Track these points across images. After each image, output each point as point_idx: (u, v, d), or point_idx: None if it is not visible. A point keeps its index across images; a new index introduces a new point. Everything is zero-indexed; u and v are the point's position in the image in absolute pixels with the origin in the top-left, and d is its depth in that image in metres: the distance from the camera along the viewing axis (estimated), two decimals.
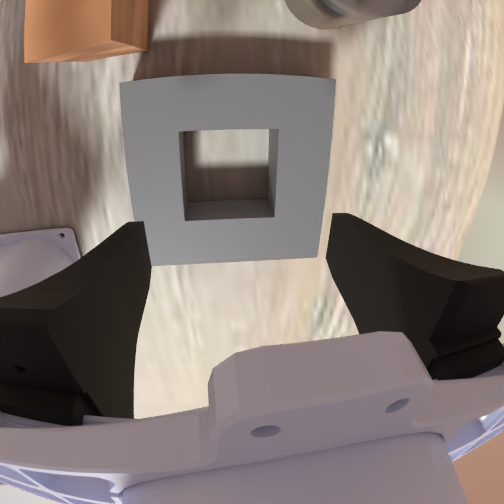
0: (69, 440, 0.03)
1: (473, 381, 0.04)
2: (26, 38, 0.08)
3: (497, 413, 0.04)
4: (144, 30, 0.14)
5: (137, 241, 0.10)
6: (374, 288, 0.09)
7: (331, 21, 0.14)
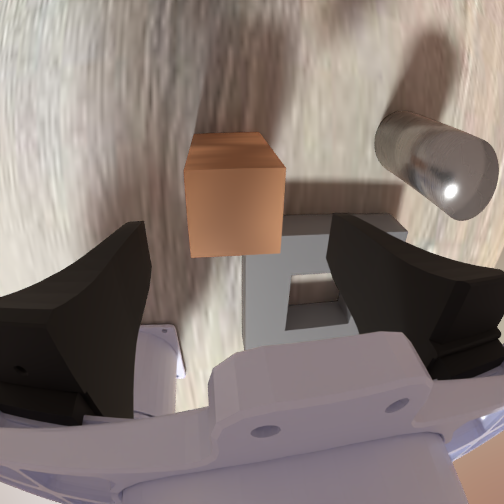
0: (69, 440, 0.03)
1: (474, 381, 0.04)
2: (191, 236, 0.14)
3: (497, 413, 0.04)
4: None
5: (137, 241, 0.10)
6: (374, 288, 0.09)
7: None
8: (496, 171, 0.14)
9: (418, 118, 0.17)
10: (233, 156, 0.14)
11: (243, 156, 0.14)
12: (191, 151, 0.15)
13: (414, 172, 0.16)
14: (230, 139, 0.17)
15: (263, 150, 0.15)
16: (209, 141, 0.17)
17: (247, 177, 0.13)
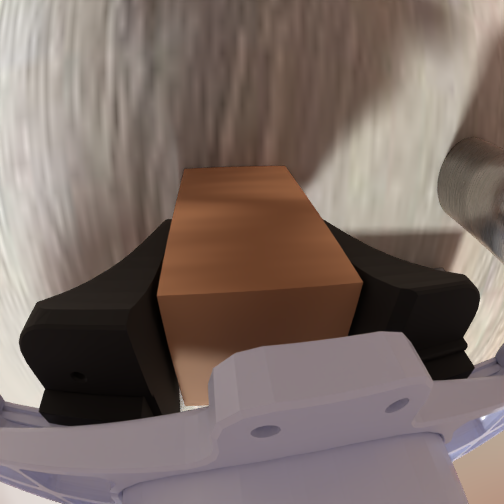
0: (69, 440, 0.03)
1: (473, 381, 0.04)
2: (182, 384, 0.08)
3: (497, 413, 0.04)
4: None
5: None
6: None
7: None
8: None
9: (502, 154, 0.11)
10: (255, 238, 0.08)
11: (274, 241, 0.08)
12: (176, 218, 0.09)
13: None
14: (243, 184, 0.11)
15: (305, 218, 0.09)
16: (208, 189, 0.11)
17: (287, 303, 0.06)
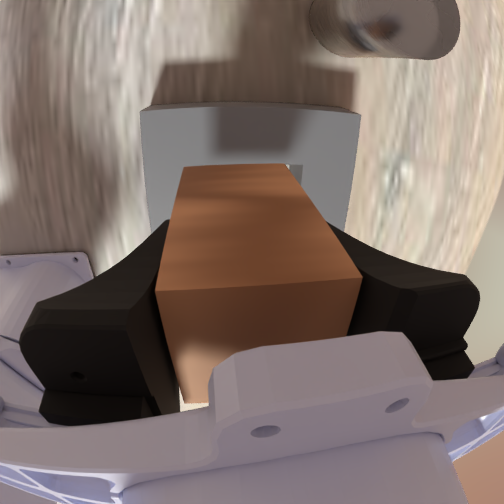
0: (69, 440, 0.03)
1: (473, 381, 0.04)
2: (182, 381, 0.08)
3: (497, 413, 0.04)
4: None
5: None
6: None
7: (359, 54, 0.14)
8: (453, 6, 0.08)
9: None
10: (254, 234, 0.08)
11: (273, 237, 0.08)
12: (175, 214, 0.09)
13: (343, 13, 0.11)
14: (242, 181, 0.11)
15: (304, 214, 0.09)
16: (207, 186, 0.11)
17: (286, 299, 0.06)
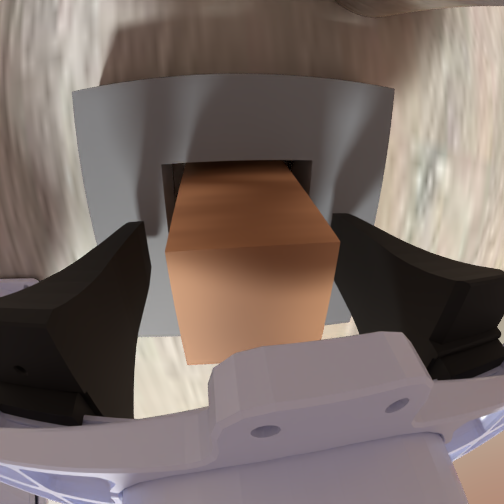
0: (69, 440, 0.03)
1: (473, 382, 0.04)
2: (185, 340, 0.09)
3: (497, 413, 0.04)
4: None
5: (137, 241, 0.10)
6: (374, 288, 0.09)
7: (389, 4, 0.08)
8: None
9: None
10: (248, 210, 0.09)
11: (265, 212, 0.09)
12: (181, 196, 0.10)
13: None
14: (239, 169, 0.12)
15: (293, 195, 0.10)
16: (208, 174, 0.12)
17: (274, 259, 0.08)
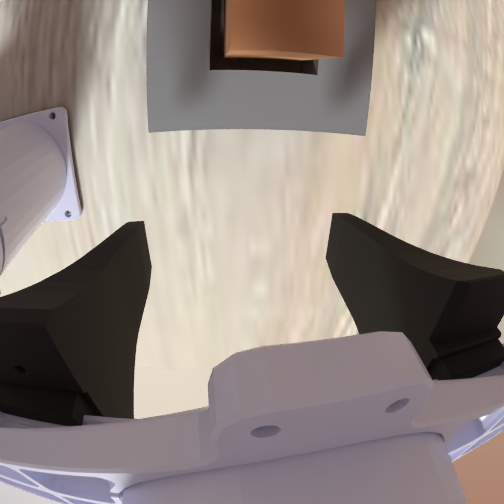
0: (69, 440, 0.03)
1: (473, 381, 0.04)
2: (233, 20, 0.09)
3: (497, 413, 0.04)
4: None
5: (137, 241, 0.10)
6: (374, 288, 0.09)
7: None
8: None
9: None
10: None
11: None
12: None
13: None
14: None
15: None
16: None
17: None
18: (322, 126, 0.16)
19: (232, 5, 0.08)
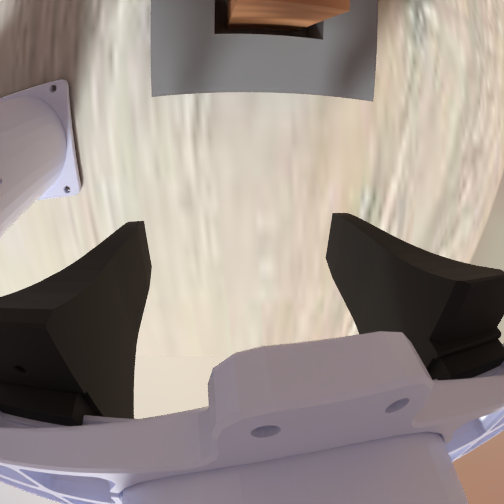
0: (69, 440, 0.03)
1: (474, 382, 0.04)
2: None
3: (497, 413, 0.04)
4: None
5: (137, 241, 0.10)
6: (374, 288, 0.09)
7: None
8: None
9: None
10: None
11: None
12: None
13: None
14: None
15: None
16: None
17: None
18: (329, 90, 0.15)
19: None
